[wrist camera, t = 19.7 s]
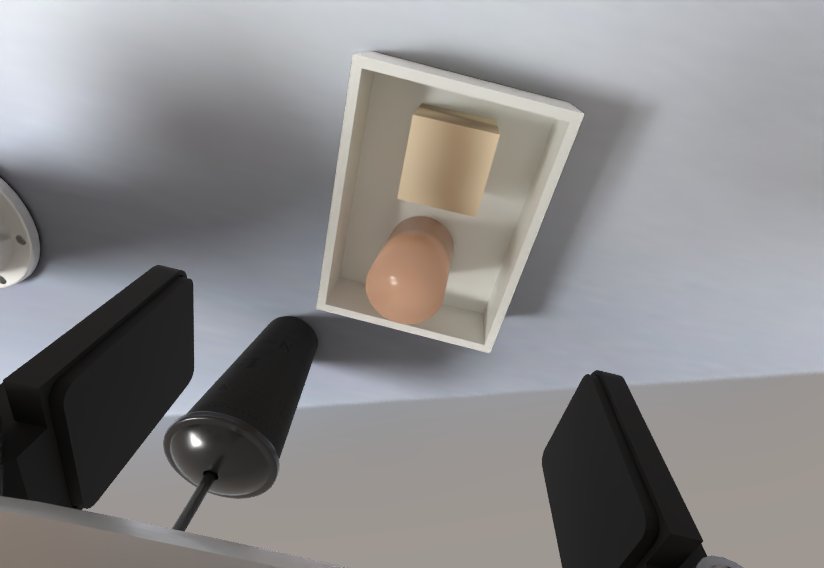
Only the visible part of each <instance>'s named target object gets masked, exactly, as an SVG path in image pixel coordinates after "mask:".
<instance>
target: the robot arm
mask: <svg viewBox="0 0 824 568" xmlns="http://www.w3.org/2000/svg"><path fill="white" fill-rule="evenodd" d="M39 257H40V243H39V237H38V233H37V230H36V227H35V224H34V221H33V219H32V217H31V216H30V214H29V212H28V210H27V208H26V207H25V205H24V204H23V202H22V201H21V200H20V198H19V197H18V195H17V194H16V193H15V192H14V191H13V190H12V189H11V188H10V186H9V185H8V184H7V183H6V182H5V181H4V180H3V179H1V178H0V288H5V287H10V286H13V285H15V284H17V283H19V282H21V281H23V280H24V279H26V278H27V277H28V276H30V275H31V274H32V272H33V271H34V270H35V268H36V267H37V264H38V261H39ZM193 372H194V315H193V282H192V280H191V279H188V278H187V275H186V273H185V272H184V271H182V270H178V269H174V268H169V267H165V266H161V265H156V266H154V267H153V268H151V269H150V270H149V271H147V272H146V273H145V274H143V275H142V276H141V277H139V278H138V279H137V280H135V281H134V282H133V283H131V284H130V285H129V286H127V287H126V288H125V289H123V290H122V291H121V292H119V293H118V294H117V295H115V296H114V297H113V298H111V299H110V300H109V301H107V302H106V303H105V304H103V305H102V306H101V307H99V308H98V309H97V310H95V311H94V312H93V313H91V314H90V315H89V316H88V317H86V318H85V319H84V320H82V321H81V322H80V323H78V324H77V325H76V326H74V327H73V328H72V329H70V330H69V331H68V332H66V333H65V334H64V335H62V336H61V337H60V338H58V339H57V340H56V341H54V342H53V343H52V344H50V345H49V346H48V347H46V348H45V349H44V350H42V351H41V352H40V353H38V354H37V355H36V356H34V357H33V358H32V359H30V360H29V361H28V362H26V363H25V364H24V365H22V366H21V367H20V368H18V369H17V370H16V371H14V372H13V373H12V374H11V375H9V376H8V377H7V378H5V379H4V380H3V383H2V384H0V568H348V567H343V566H339V565H334V564H329V563H325V562H321V561H316V560H312V559H307V558H303V557H298V556H294V555H289V554H285V553H280V552H276V551H271V550H267V549H262V548H258V547H253V546H248V545H243V544H239V543H234V542H229V541H225V540H221V539H215V538H211V537H206V536H202V535H197V534H193V533H188V532H184V531H179V530H174V529H169V528H165V527H161V526H155V525H151V524H147V523H142V522H137V521H132V520H128V519H123V518H118V517H113V516H108V515H103V514H98V513H93V512H88V511H83V510H82V509H83V508H86V509H88V508H91V507H92V506H93V505H94V504H95V503H96V502H97V501H98V500H99V498H100V497H101V496H102V495H103V493H104V492H105V491H106V489H107V488H108V487H109V486H110V484H111V483H112V482H113V480H114V479H115V478H116V477H117V475H118V474H119V473H120V471H121V470H122V469H123V468H124V466H125V465H126V464H127V462H128V461H129V460H130V458H131V457H132V456H133V455H134V453H135V452H136V450H137V449H138V448H139V447H140V446H141V444H142V443H143V442H144V440H145V439H146V438H147V436H148V435H149V434H150V433H151V431H152V430H153V429H154V428H155V426H156V425H157V424H158V422H159V421H160V420H161V419H162V417H163V416H164V415H165V413H166V412H167V411H168V410H169V408H170V407H171V406H172V404H173V403H174V402H175V401H176V399H177V398H178V397H179V395H180V394H181V393H182V392H183V390H184V389H185V388H186V386H187V385H188V384H189V382H190V380H191V378H192V376H193ZM542 467H543V472H544V477H545V482H546V487H547V493H548V498H549V503H550V508H551V513H552V517H553V523H554V528H555V532H556V538H557V543H558V548H559V553H560V558H561V563H562V568H743V567H741V566H740V565H738V564H737V563H735V562H733V561H730V560H728V559H725V558H723V557H716V556H708V557H707V555H706V553H705V551H704V549H703V547H702V544H701V543H702V542H703V540H702V538H701V535H700V533H699V531H698V529H697V527H696V525H695V523H694V521H693V519H692V517H691V515H690V513H689V511H688V509H687V507H686V505H685V503H684V501H683V499H682V497H681V495H680V492H679V490H678V488H677V486H676V484H675V482H674V480H673V478H672V476H671V474H670V472H669V470H668V468H667V466H666V464H665V462H664V460H663V458H662V456H661V454H660V452H659V450H658V447H657V446H656V443H655V441H654V439H653V437H652V436H651V433H650V431H649V429H648V427H647V425H646V423H645V421H644V419H643V417H642V415H641V413H640V411H639V409H638V406H637V405H636V402H635V400H634V399H633V396H632V394H631V392H630V390H629V388H628V386H627V384H626V382H625V380H624V378H623V377H622V376H620V375H616V374H611V373H607V372H603V371H599V370H596V371H594V372H593V373H592V374H591V375H589V374H587V375H585V376H584V377H583V379H582V381H581V382H580V384H579V386H578V388H577V390H576V392H575V394H574V395H573V397H572V399H571V401H570V403H569V405H568V407H567V409H566V410H565V412H564V414H563V416H562V418H561V420H560V422H559V424H558V425H557V427H556V429H555V431H554V433H553V435H552V437H551V439H550V440H549V442H548V444H547V446H546V448H545V450H544V453H543V457H542Z"/></svg>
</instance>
